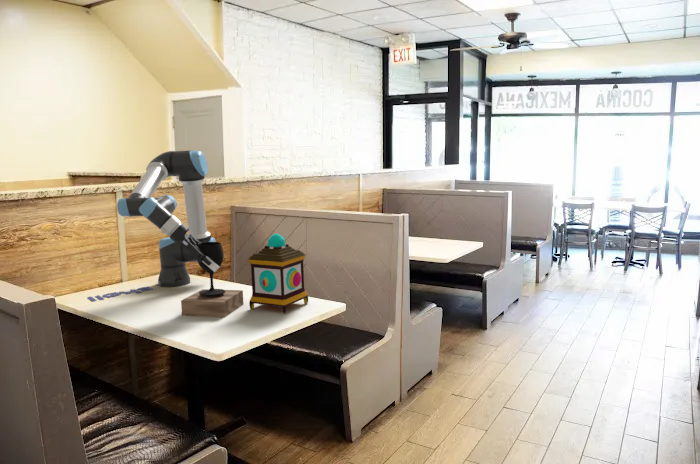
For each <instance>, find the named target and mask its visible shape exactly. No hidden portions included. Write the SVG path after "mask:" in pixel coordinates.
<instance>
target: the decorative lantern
mask: <svg viewBox="0 0 700 464" xmlns="http://www.w3.org/2000/svg"><path fill="white" fill-rule="evenodd" d="M305 258H306V254H305V253H304V252H303V251H301V250H300V249H295V248H294V247H293V248H292V246H290V245H289V244H286V241H285V238H284V237H283V236H282V235H281V234H279V233H273V234H272V235H271V236H270V237H269V238H268V239H267V245H265V246H264V248H261V250H259V251H257V252H256V253H255V252H254V253H253V254H252V255H251V256H249V257H248V258H247V261H248V263H249V264H250V269H251V270H250V272H251V274H250V275H251V289H252V292H251V297H250V298H249V299H250V300H249V309H250V310H253V309H255V304H257V305H262V306H263V305H265V306H273V307H280V308H281V310H282V314H284V315H285V314H286V313H287V307H288V306H290V305H293V304H295V303H297V302H299V301H301V300H303V303H304V304H305V305H306V304H308V303H309V296H308V295H309V294H308V293H307V291H306V290H305V275H304V259H305Z"/></svg>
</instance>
